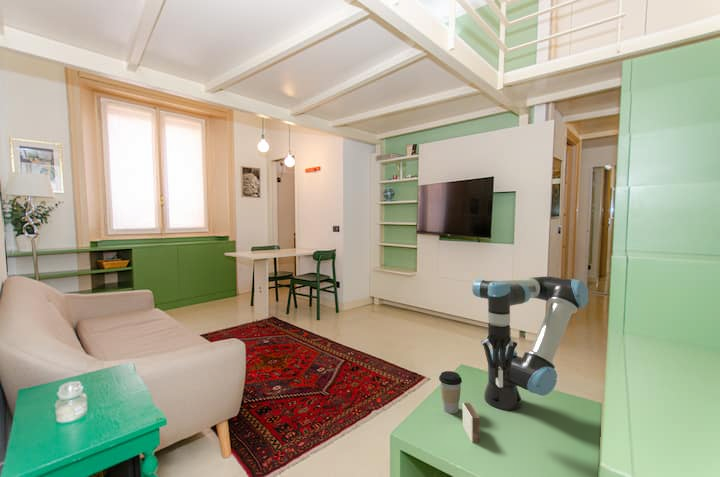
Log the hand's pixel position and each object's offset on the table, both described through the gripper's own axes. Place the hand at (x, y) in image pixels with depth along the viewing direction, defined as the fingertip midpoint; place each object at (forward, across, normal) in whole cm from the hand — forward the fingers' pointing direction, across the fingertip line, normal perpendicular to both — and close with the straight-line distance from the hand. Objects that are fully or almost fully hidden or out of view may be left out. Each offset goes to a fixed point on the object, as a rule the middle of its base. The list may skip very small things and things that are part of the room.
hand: (499, 385), depth 120 cm
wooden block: (+18, +11, 0) cm, 21 cm away
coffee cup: (+18, +14, -16) cm, 28 cm away
